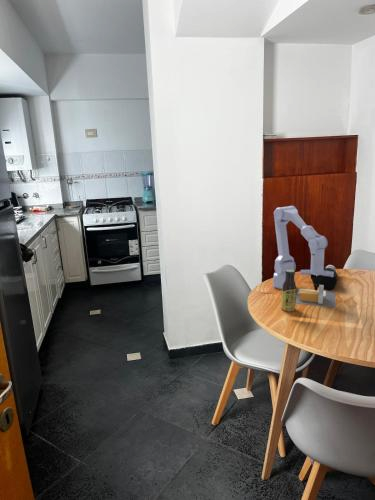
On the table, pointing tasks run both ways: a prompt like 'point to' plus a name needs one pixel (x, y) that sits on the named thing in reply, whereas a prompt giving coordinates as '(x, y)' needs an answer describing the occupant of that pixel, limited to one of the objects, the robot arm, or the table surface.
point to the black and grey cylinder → (329, 278)
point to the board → (327, 302)
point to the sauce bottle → (289, 292)
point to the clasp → (320, 294)
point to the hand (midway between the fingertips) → (316, 289)
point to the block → (309, 295)
